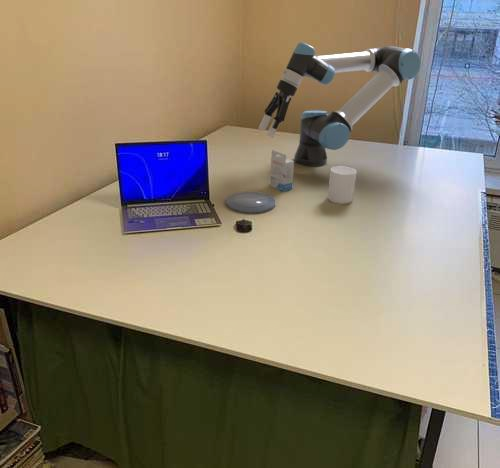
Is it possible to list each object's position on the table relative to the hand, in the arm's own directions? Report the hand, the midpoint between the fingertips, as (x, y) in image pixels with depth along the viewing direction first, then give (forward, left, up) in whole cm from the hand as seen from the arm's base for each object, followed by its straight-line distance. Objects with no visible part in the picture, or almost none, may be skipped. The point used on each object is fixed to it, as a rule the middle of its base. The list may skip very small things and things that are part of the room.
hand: (265, 133), depth 194 cm
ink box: (-4, +13, -19) cm, 23 cm away
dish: (+12, +27, -19) cm, 35 cm away
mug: (-22, +28, -19) cm, 40 cm away
